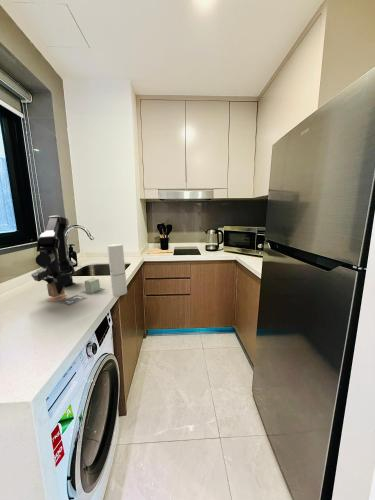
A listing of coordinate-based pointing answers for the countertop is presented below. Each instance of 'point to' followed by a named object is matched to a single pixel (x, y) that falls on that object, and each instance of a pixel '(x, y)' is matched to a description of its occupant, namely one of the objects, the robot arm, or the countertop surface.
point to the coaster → (57, 298)
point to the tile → (72, 300)
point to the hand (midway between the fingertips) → (56, 292)
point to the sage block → (92, 285)
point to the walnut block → (54, 290)
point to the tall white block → (117, 269)
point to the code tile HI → (92, 293)
